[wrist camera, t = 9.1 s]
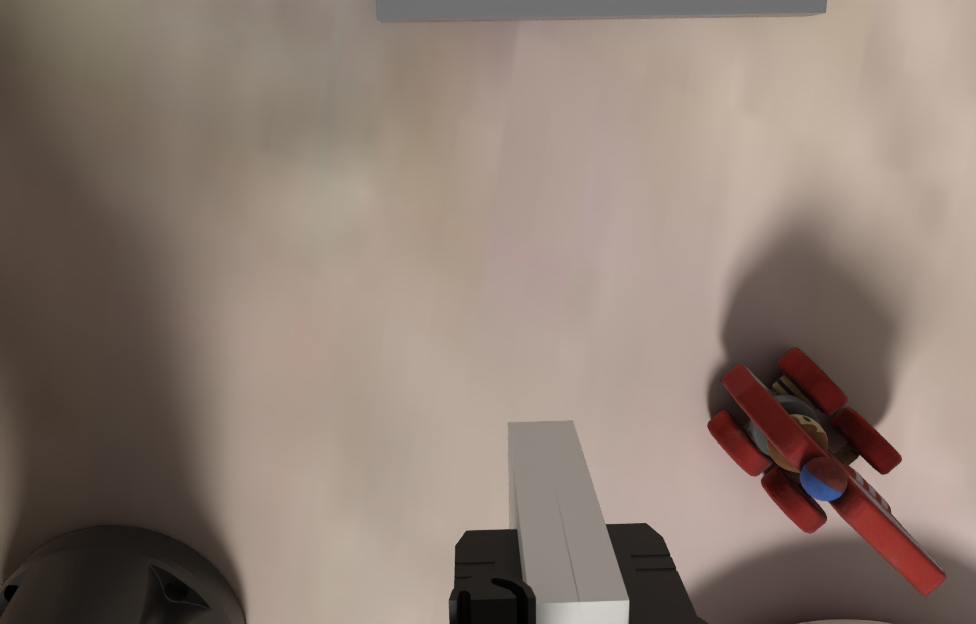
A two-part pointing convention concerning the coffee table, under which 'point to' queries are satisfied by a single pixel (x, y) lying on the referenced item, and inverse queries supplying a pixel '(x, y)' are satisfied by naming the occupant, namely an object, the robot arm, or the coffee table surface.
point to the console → (588, 9)
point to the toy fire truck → (818, 459)
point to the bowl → (844, 622)
